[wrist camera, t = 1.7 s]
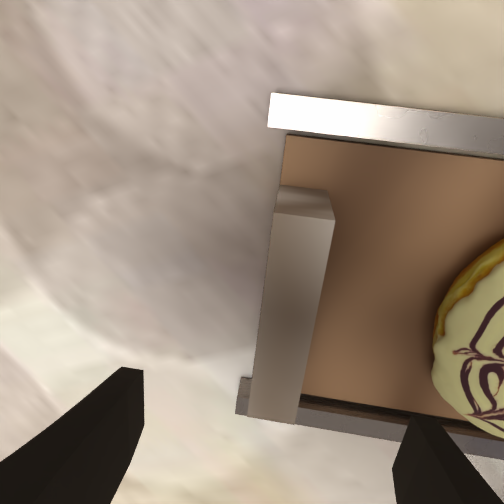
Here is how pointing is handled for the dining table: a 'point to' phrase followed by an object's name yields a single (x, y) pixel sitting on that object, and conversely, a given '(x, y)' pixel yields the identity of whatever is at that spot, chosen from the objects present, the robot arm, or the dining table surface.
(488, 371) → the decorated donut
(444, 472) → the robot arm
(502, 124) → the rails
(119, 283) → the dining table surface
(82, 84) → the dining table surface
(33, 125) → the dining table surface
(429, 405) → the brown square board
